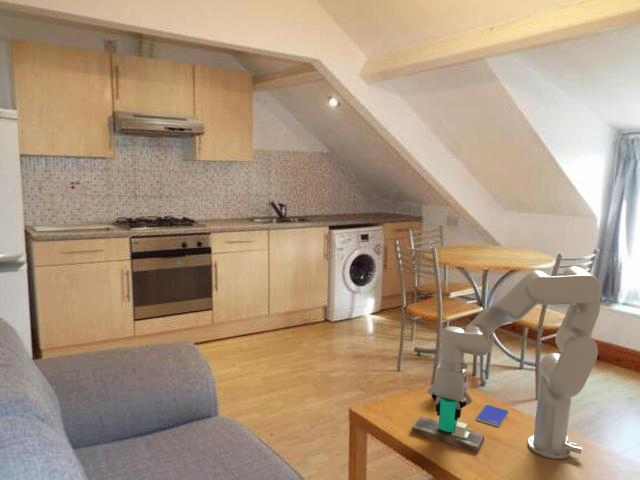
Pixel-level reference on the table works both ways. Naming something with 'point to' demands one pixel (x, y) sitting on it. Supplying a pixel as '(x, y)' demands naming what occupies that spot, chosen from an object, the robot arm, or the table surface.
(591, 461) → the table surface
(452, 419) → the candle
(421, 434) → the switch board
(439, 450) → the table surface
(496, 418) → the hard drive
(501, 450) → the table surface
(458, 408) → the robot arm
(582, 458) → the table surface
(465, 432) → the switch tab
